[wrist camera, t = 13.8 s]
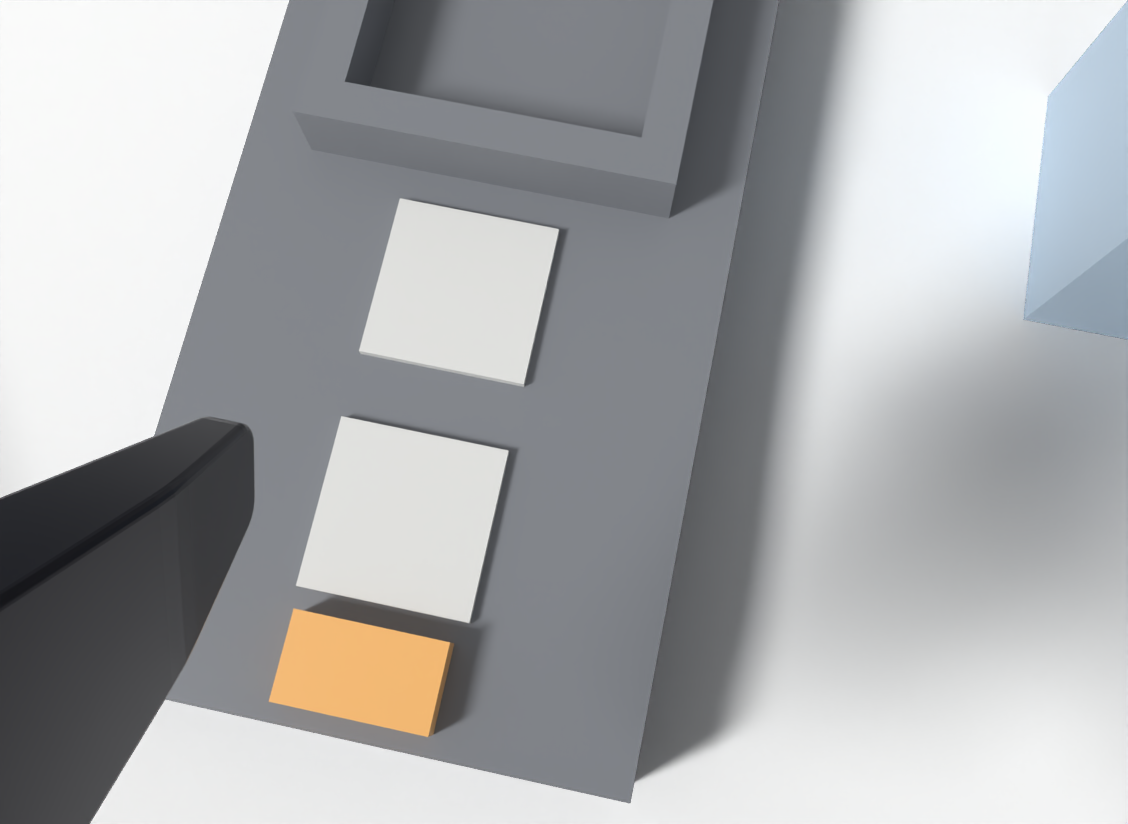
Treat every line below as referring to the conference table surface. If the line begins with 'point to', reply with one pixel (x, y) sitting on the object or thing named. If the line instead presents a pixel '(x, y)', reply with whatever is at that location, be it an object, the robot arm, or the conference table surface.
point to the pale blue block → (1085, 195)
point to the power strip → (470, 368)
